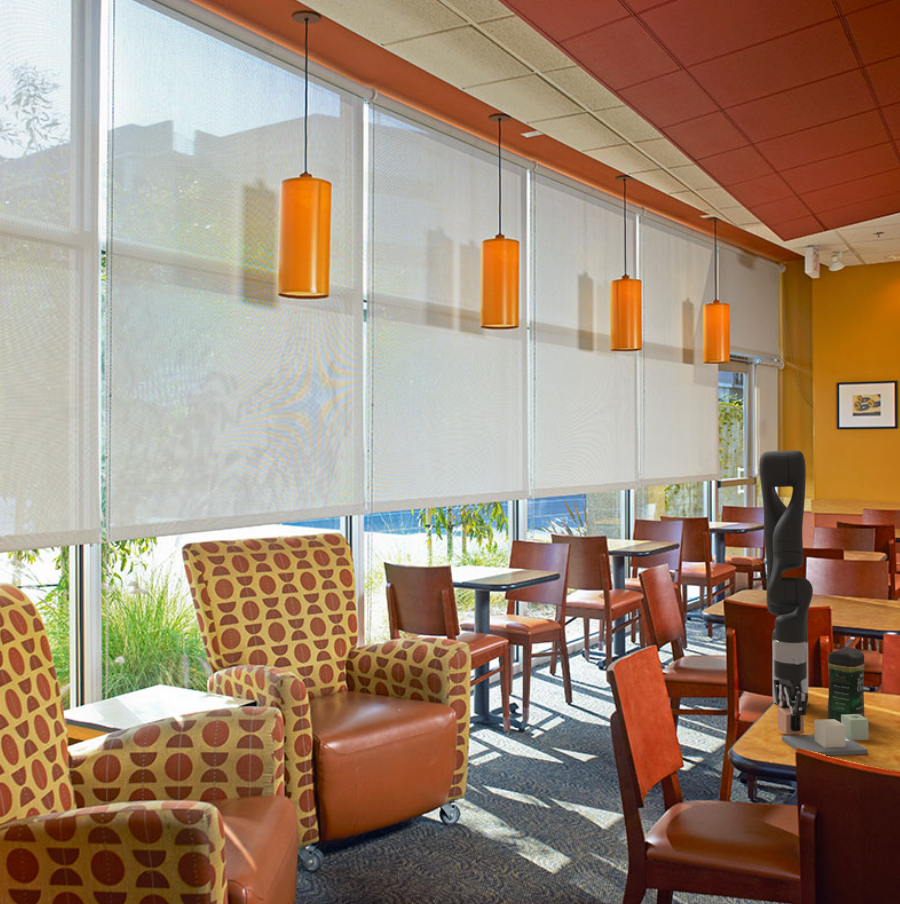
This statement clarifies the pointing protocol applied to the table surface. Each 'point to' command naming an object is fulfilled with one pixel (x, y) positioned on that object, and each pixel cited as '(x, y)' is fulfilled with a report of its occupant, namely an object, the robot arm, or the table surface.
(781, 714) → the brick terracotta
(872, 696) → the table surface
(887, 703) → the table surface
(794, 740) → the build board
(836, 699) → the coffee jar
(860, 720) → the brick sage
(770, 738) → the table surface
